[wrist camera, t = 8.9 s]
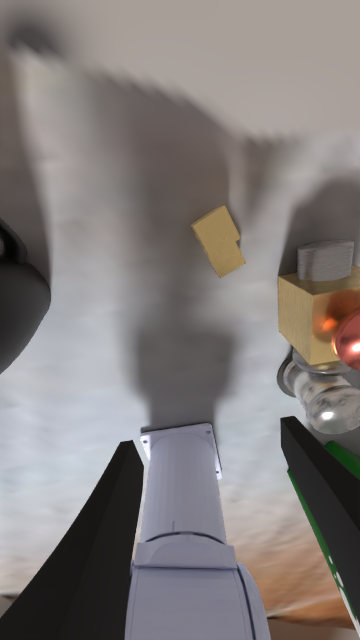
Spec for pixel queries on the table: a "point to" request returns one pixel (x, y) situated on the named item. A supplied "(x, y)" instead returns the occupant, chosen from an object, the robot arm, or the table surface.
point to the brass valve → (322, 308)
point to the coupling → (324, 399)
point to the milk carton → (356, 467)
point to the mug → (18, 297)
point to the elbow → (219, 240)
